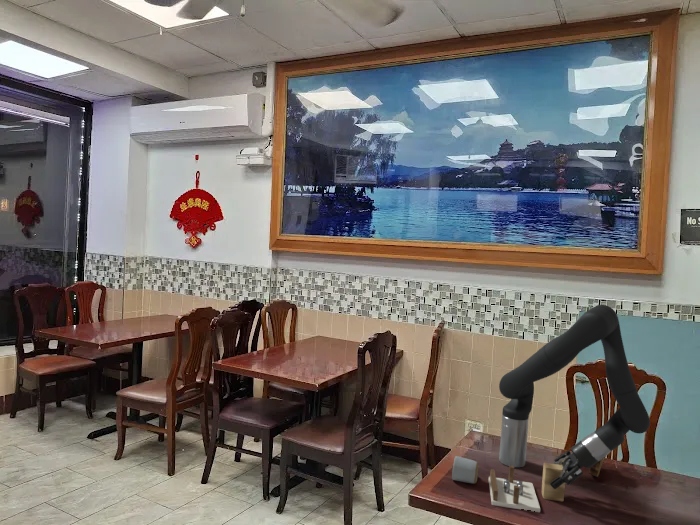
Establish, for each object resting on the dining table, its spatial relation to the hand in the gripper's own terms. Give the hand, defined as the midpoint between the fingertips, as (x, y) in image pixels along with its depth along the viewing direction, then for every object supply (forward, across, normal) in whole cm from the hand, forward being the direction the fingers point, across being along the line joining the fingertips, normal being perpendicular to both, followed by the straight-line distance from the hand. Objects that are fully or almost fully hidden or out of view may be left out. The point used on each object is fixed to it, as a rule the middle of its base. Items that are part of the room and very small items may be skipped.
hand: (549, 480), depth 164 cm
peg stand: (+12, +3, -4) cm, 13 cm away
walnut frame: (+13, +3, -7) cm, 15 cm away
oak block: (+3, 0, +5) cm, 5 cm away
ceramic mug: (+22, -4, -15) cm, 27 cm away
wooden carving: (-10, -23, +18) cm, 31 cm away
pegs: (+11, +3, -5) cm, 12 cm away
